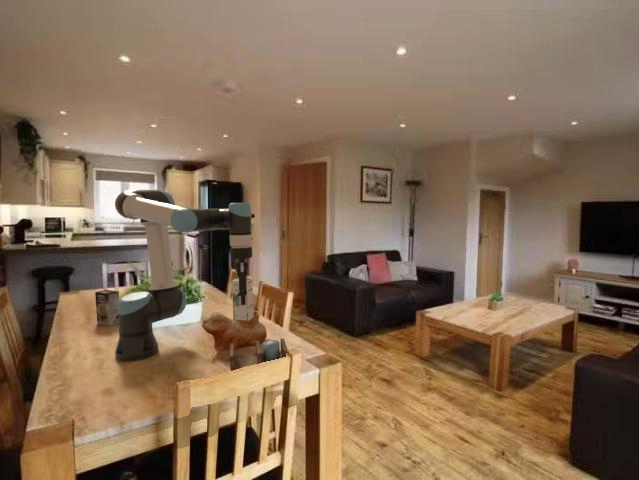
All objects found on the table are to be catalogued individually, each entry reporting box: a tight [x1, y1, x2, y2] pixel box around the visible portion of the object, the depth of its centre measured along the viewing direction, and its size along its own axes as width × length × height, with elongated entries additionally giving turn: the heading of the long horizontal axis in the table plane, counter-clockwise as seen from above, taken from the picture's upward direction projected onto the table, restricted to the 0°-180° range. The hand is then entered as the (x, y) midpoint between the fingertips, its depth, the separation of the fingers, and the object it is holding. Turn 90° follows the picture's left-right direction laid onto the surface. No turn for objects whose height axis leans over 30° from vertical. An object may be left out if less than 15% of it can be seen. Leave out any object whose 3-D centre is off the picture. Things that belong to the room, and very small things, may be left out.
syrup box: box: [231, 277, 254, 321], centre depth 129 cm, size 6×6×14 cm
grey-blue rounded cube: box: [262, 339, 281, 361], centre depth 133 cm, size 6×6×6 cm
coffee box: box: [94, 289, 120, 327], centre depth 180 cm, size 9×6×16 cm
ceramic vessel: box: [201, 310, 268, 352], centre depth 149 cm, size 14×26×15 cm, turn 115°
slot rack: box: [229, 338, 289, 371], centre depth 132 cm, size 20×12×6 cm, turn 103°
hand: (243, 310), depth 129 cm, fingers closed on syrup box, 7 cm apart
